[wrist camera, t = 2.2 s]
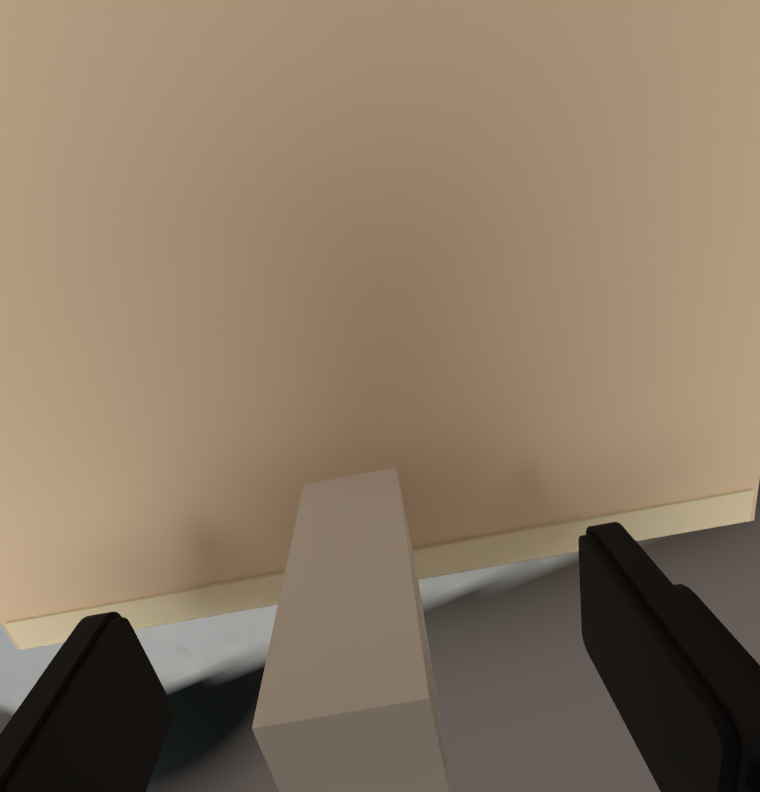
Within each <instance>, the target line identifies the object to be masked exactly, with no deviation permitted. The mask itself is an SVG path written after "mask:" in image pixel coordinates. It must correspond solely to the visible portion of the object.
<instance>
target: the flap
mask: <svg viewBox="0 0 760 792" xmlns="http://www.w3.org/2000/svg"><path fill="white" fill-rule="evenodd" d="M759 478H760V0H0V623H1V625H2V626H3V628H4V629H5V631H6V632H7V634H8V635H9V637H10V638H11V640H12V641H13V643H14V644H15V646H16V647H17V649H18V650H22V649H28V648H34V647H39V646H45V645H51V644H56V643H62V642H65V641H66V640H67V638H68V637H69V635H70V634H71V633H72V631H73V630H74V628H75V627H76V626H77V624H78V623H79V622H80V621H81V620H82V619H83V618H84V617H86V616H91V615H96V614H102V613H107V612H117V613H119V614H120V615H121V616H122V617H125V618H127V619H128V620H129V622H130V624H131V626H132V628H133V630H136V629H141V628H147V627H153V626H158V625H164V624H170V623H175V622H181V621H187V620H192V619H198V618H204V617H209V616H215V615H221V614H226V613H232V612H238V611H243V610H249V609H255V608H260V607H266V606H272V605H277V604H278V608H277V613H276V617H275V622H274V627H273V631H272V636H271V641H270V646H269V650H268V655H267V660H266V665H265V670H264V674H263V679H262V683H261V688H260V693H259V698H258V702H257V707H256V712H255V717H254V722H253V726H252V730H253V732H254V734H255V736H256V738H257V741H258V743H259V746H260V748H261V750H262V752H263V755H264V757H265V759H266V762H267V764H268V766H269V768H270V771H271V773H272V775H273V777H274V780H275V782H276V784H277V786H278V789H279V791H280V792H452V791H451V785H450V779H449V772H448V767H447V760H446V754H445V747H444V741H443V735H442V728H441V722H440V716H439V709H438V703H437V697H436V691H435V685H434V678H433V672H432V665H431V659H430V653H429V646H428V640H427V634H426V628H425V621H424V615H423V609H422V602H421V596H420V590H419V583H418V580H419V579H424V578H430V577H436V576H441V575H447V574H453V573H458V572H464V571H470V570H475V569H481V568H487V567H492V566H498V565H504V564H509V563H515V562H521V561H526V560H532V559H538V558H543V557H549V556H555V555H560V554H566V553H572V552H577V551H579V543H578V541H579V536H582V535H586V529H587V527H589V526H594V525H600V524H605V523H611V522H618V523H620V524H621V525H622V526H623V527H624V528H625V529H626V530H627V532H628V533H629V534H630V535H631V536H632V537H633V539H634V540H635V541H639V540H645V539H651V538H656V537H662V536H668V535H673V534H679V533H684V532H690V531H696V530H702V529H707V528H713V527H719V526H724V525H730V524H736V523H741V522H747V521H753V520H754V515H755V508H756V500H757V493H758V486H759Z"/></svg>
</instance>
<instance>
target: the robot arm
mask: <svg viewBox="0 0 760 792" xmlns="http://www.w3.org/2000/svg"><path fill="white" fill-rule="evenodd" d="M578 543H579V569H580V594H581V621H582V636H583V641H584V644H585V647H586V649H587V652H588V654H589V656H590V658H591V660H592V661H593V663H594V665H595V667H596V669H597V671H598V673H599V675H600V677H601V679H602V680H603V682H604V684H605V686H606V688H607V690H608V692H609V694H610V696H611V698H612V700H613V702H614V703H615V705H616V707H617V709H618V711H619V713H620V715H621V717H622V719H623V720H624V722H625V724H626V726H627V728H628V730H629V732H630V734H631V736H632V738H633V740H634V741H635V743H636V745H637V747H638V749H639V751H640V753H641V755H642V756H643V759H644V760H645V762H646V764H647V766H648V768H649V770H650V772H651V774H652V776H653V778H654V780H655V781H656V783H657V785H658V787H659V789H660V791H661V792H760V665H759V664H758V663H757V662H756V661H755V660H754V659H753V658H752V656H751V655H749V653H748V652H747V651H746V650H745V649H744V648H743V647H742V645H741V644H740V643H739V642H738V641H737V640H736V639H735V638H734V636H733V635H732V634H731V633H730V632H729V631H728V630H727V629H726V627H724V626H723V624H722V623H721V622H720V621H719V620H718V619H717V617H716V616H715V615H714V614H713V613H712V612H711V611H710V610H709V608H708V607H707V606H706V605H705V604H704V603H703V602H702V601H701V600H700V598H699V597H698V596H697V595H696V594H695V593H694V592H693V591H692V590H691V589H689V588H688V587H686V586H684V585H682V584H678V585H673V584H672V583H671V582H670V581H669V579H668V578H667V577H666V576H665V575H664V574H663V572H662V571H661V570H660V569H659V568H658V567H657V566H656V564H655V563H654V562H653V561H652V560H651V558H650V557H649V556H648V555H647V554H646V553H645V551H644V550H643V549H642V548H641V547H640V546H639V544H638V543H637V542H636V541H635V540H634V539H633V537H632V536H631V535H630V534H629V533H628V532H627V530H626V529H625V528H624V527H623V526H622V525H621V524H620V523H618V522H611V523H605V524H600V525H594V526H589V527H587V529H586V535H582V536H579V541H578ZM172 713H173V710H172V705H171V702H170V700H169V698H168V696H167V694H166V692H165V690H164V688H163V686H162V684H161V682H160V680H159V678H158V677H157V675H156V673H155V671H154V669H153V667H152V665H151V663H150V661H149V659H148V657H147V655H146V653H145V651H144V649H143V647H142V645H141V643H140V641H139V639H138V638H137V636H136V634H135V632H134V630H133V628H132V626H131V624H130V622H129V620H128V619H127V618H125V617H122V616H121V615H120V614H119V613H117V612H107V613H102V614H96V615H91V616H86V617H84V618H83V619H82V620H81V621H80V622H79V623H78V624H77V626H76V627H75V628H74V630H73V631H72V633H71V634H70V635H69V637H68V638H67V640H66V641H65V643H64V644H63V645H62V647H61V648H60V650H59V651H58V653H57V654H56V655H55V657H54V658H53V660H52V661H51V663H50V664H49V665H48V667H47V668H46V670H45V671H44V673H43V674H42V675H41V677H40V678H39V680H38V681H37V683H36V684H35V685H34V687H33V688H32V690H31V691H30V693H29V694H28V695H27V697H26V698H25V700H24V701H23V703H22V704H21V705H20V707H19V708H18V710H17V711H16V712H15V714H14V715H13V717H12V718H11V720H10V721H9V722H8V724H7V725H6V727H5V728H4V730H3V731H2V733H1V734H0V792H146V789H147V786H148V783H149V781H150V778H151V776H152V773H153V770H154V768H155V765H156V762H157V760H158V757H159V754H160V752H161V749H162V747H163V744H164V741H165V738H166V736H167V733H168V731H169V728H170V725H171V721H172Z"/></svg>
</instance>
